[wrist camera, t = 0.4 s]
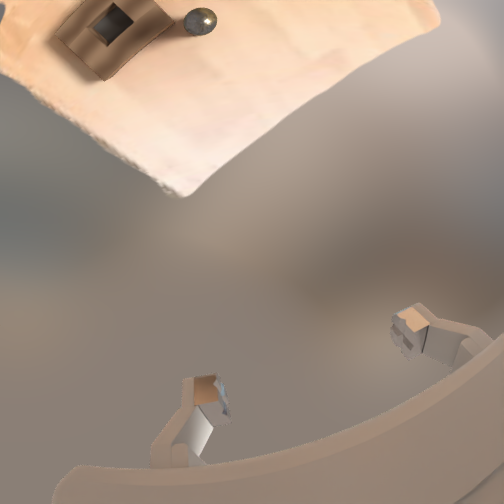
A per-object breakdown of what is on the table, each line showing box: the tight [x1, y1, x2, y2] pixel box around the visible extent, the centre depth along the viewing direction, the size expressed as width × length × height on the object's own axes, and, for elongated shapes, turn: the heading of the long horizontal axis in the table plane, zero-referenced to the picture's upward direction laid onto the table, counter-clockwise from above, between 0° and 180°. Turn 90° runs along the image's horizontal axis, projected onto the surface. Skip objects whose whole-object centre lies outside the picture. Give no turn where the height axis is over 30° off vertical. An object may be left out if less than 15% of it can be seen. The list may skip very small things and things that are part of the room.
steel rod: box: [184, 8, 217, 36], centre depth 31 cm, size 5×5×14 cm
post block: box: [55, 0, 175, 81], centre depth 30 cm, size 16×16×5 cm
